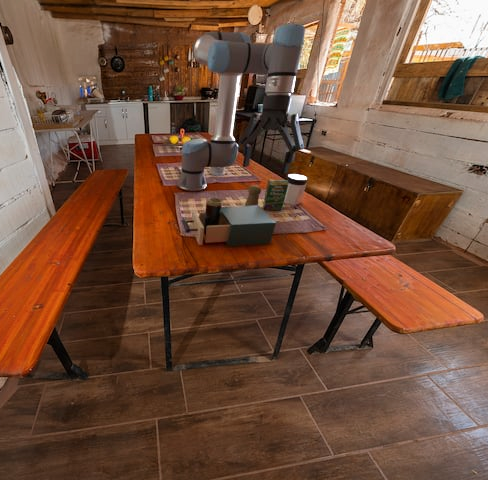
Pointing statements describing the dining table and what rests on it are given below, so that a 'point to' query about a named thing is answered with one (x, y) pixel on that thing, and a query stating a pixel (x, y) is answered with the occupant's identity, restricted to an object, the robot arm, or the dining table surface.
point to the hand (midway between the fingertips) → (264, 169)
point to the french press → (217, 171)
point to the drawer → (207, 229)
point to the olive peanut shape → (253, 195)
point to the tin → (212, 212)
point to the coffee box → (275, 194)
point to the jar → (295, 189)
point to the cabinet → (248, 225)
